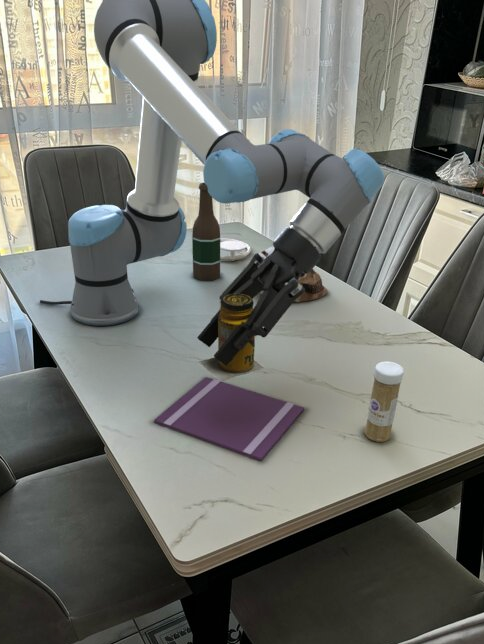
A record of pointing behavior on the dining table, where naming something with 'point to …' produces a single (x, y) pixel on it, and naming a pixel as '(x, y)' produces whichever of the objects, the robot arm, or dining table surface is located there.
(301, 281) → the coin bank
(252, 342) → the condiment
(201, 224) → the beer bottle
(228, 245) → the white rounded slab
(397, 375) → the sprinkles bottle
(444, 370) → the dining table surface
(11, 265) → the dining table surface
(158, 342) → the dining table surface
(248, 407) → the towel
